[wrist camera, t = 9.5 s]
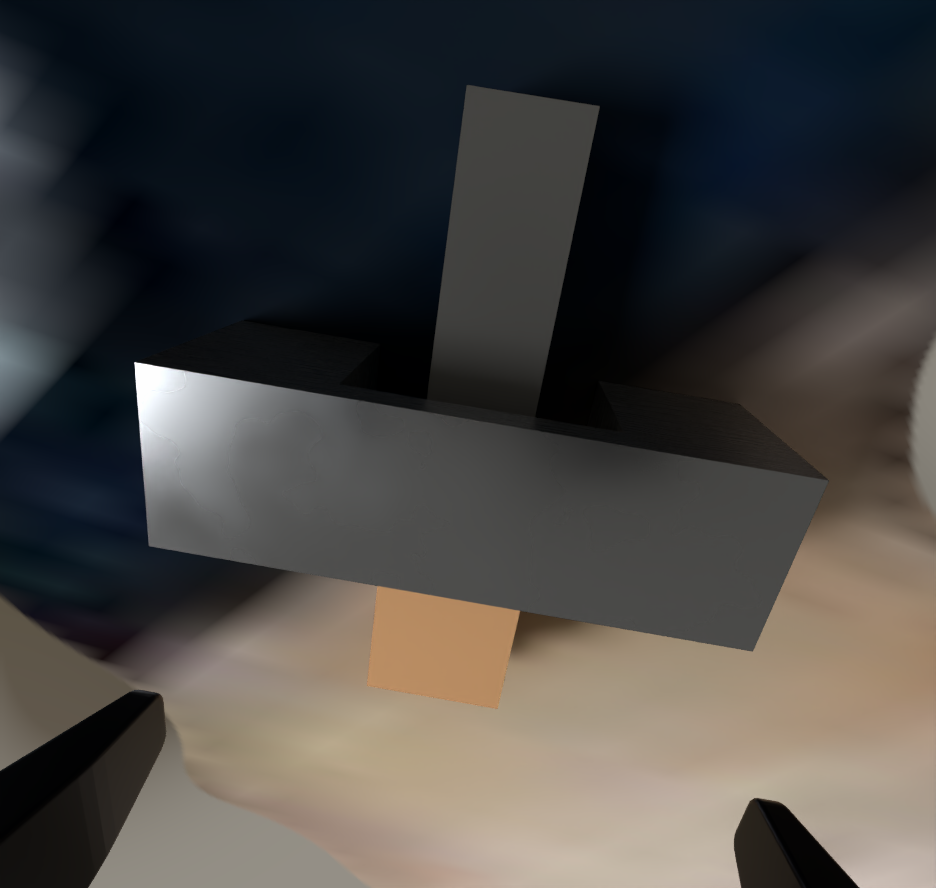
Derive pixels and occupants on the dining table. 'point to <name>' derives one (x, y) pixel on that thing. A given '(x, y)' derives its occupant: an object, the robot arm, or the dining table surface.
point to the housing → (471, 488)
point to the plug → (490, 352)
